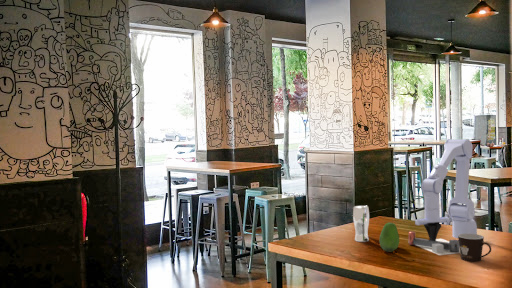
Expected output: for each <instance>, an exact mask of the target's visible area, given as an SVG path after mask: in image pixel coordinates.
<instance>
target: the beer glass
mask: <svg viewBox="0 0 512 288" xmlns="http://www.w3.org/2000/svg"><path fill="white" fill-rule="evenodd" d="M352 211H353V212H352V215H353V217H352V218H353V219H352V220H353V224H354V229H355V235H354V236H355V237H354V241H356V242H359V243H366V242H369V235H368V233H369V232H368V231H369V224H370V210H369V206H368V205H354V206H353V210H352Z"/></svg>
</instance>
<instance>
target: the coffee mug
mask: <svg viewBox="0 0 512 288" xmlns="http://www.w3.org/2000/svg"><path fill="white" fill-rule="evenodd" d="M457 240H459V247H460V253H459V254H460V260H462V261H465V262H468V263H478V262H479V263H480V262H481V261H482V259H483V258H484V257H486V256H488V255H489V254H491V252H492V246H491V245H490V244H489V243H488V242H484V240H485V239H484V236H483V235H481V234H478V233H477V234H459V235H458V238H457ZM484 245H486V246H487V247H488V249H489V251H488V252H487V253H485V254H483V247H484Z"/></svg>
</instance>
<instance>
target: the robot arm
mask: <svg viewBox="0 0 512 288" xmlns="http://www.w3.org/2000/svg"><path fill="white" fill-rule="evenodd" d="M473 146H474V145H473V144H472V141H471V140H470V139H466V138H465V139H458V138H457V139H452V138H448V139H446V140H445V142H444V145H443V150H444V151H443V153H442V156H441V158H440V161H439V163H438V164H435V165H434V166H433V168H432V170H431V172H430V173H429V175H428V177H427V178H424V179H423V180H422V181H421V186H420V187H421V192H422V197H424V217H423V218H419V219H414V225H415V226H424V228H425V230H426V232H427V235H428V240H434V241H436V239H437V237H438V233H439V232H440V229H441V228H442V224H443V223H444V224H445V223H450V220H451V221H452V237H453V238H454V239H458V235H459V234H478V230H477V229H478V227H477V225H478V224H477V222H476V221H475V215H476V214H475V213H476V210H475V203H474V201H472V200H471V199H470V198H469V176H470V161H471V159H472V158H473V149H474V148H473ZM454 160H455V161H456V170H455V174H456V175H455V189H454V190H455V191H454V197H453V198H451V199H450V200H449V203H448V206H447V214H448V216H449V217H447V216H442V217H441V215H440V214H441V213H440V212H441V211H440V209H441V207H440V206H441V205H440V193H441V192H442V191H443V184H444V180H445V178H446V176H447V175H448V172H449V171H448V169H447V168H448V167H449V166H450V164H451V163H452V161H454Z"/></svg>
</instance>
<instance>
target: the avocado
mask: <svg viewBox="0 0 512 288" xmlns="http://www.w3.org/2000/svg"><path fill="white" fill-rule="evenodd" d="M398 231H399V230H398V229H397V225H396V224H395V223H393V222H386V223H385V224H384V225H383V227H382V229H381V232H380V234H379V241H378V242H379V246H380V247H381V250H383V251H385V252H387V253H393V252H396V251H395V250H397V249H398V247H399V245H400V235H399V232H398Z"/></svg>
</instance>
